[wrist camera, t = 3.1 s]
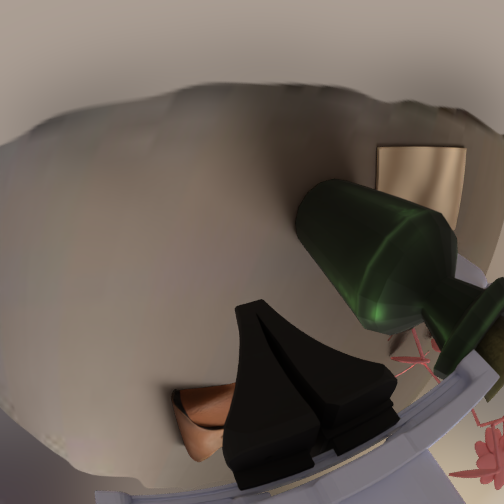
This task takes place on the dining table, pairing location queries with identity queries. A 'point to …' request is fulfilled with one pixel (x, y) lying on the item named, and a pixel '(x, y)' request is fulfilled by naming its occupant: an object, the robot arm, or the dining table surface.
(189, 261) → the dining table surface
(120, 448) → the dining table surface
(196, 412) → the sunglasses case
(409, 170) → the placemat
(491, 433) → the figurine
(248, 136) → the dining table surface
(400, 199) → the potion bottle
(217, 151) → the dining table surface
